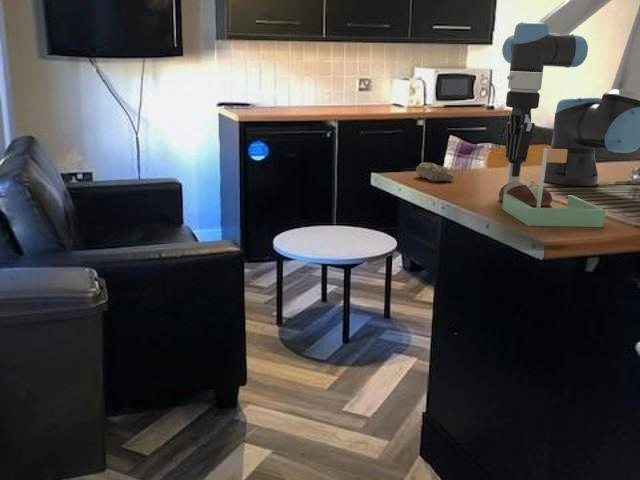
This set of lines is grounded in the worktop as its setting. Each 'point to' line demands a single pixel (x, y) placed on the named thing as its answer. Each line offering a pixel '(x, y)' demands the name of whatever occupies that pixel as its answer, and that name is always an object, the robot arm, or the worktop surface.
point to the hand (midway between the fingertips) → (511, 188)
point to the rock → (434, 172)
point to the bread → (526, 193)
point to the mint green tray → (573, 215)
